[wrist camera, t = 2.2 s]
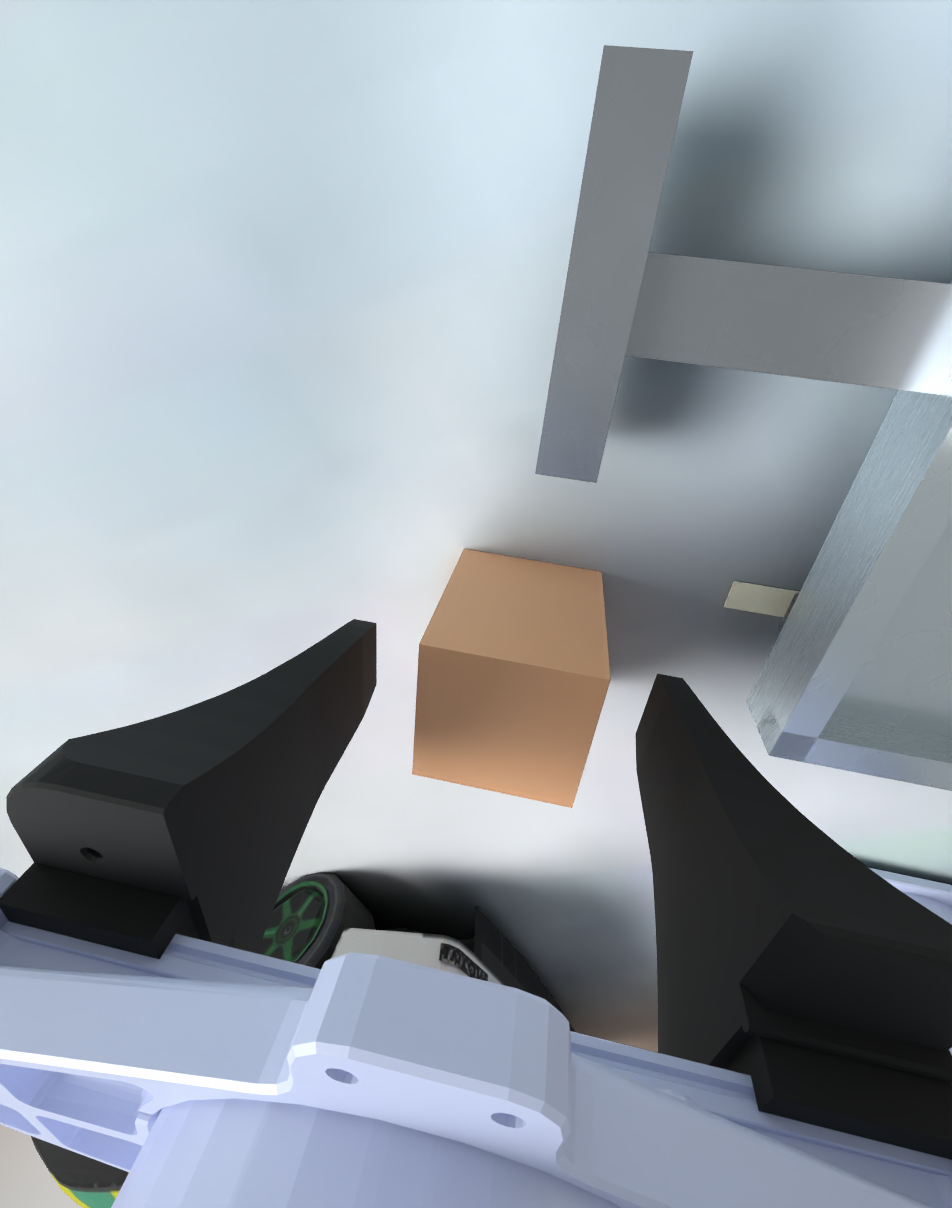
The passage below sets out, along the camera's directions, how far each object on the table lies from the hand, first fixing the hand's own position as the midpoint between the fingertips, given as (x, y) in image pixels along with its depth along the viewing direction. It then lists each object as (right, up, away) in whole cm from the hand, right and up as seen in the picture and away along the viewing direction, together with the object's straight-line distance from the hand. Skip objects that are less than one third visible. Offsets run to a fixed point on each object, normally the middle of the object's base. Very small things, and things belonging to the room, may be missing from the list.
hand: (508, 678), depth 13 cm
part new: (+1, +2, +3) cm, 3 cm away
